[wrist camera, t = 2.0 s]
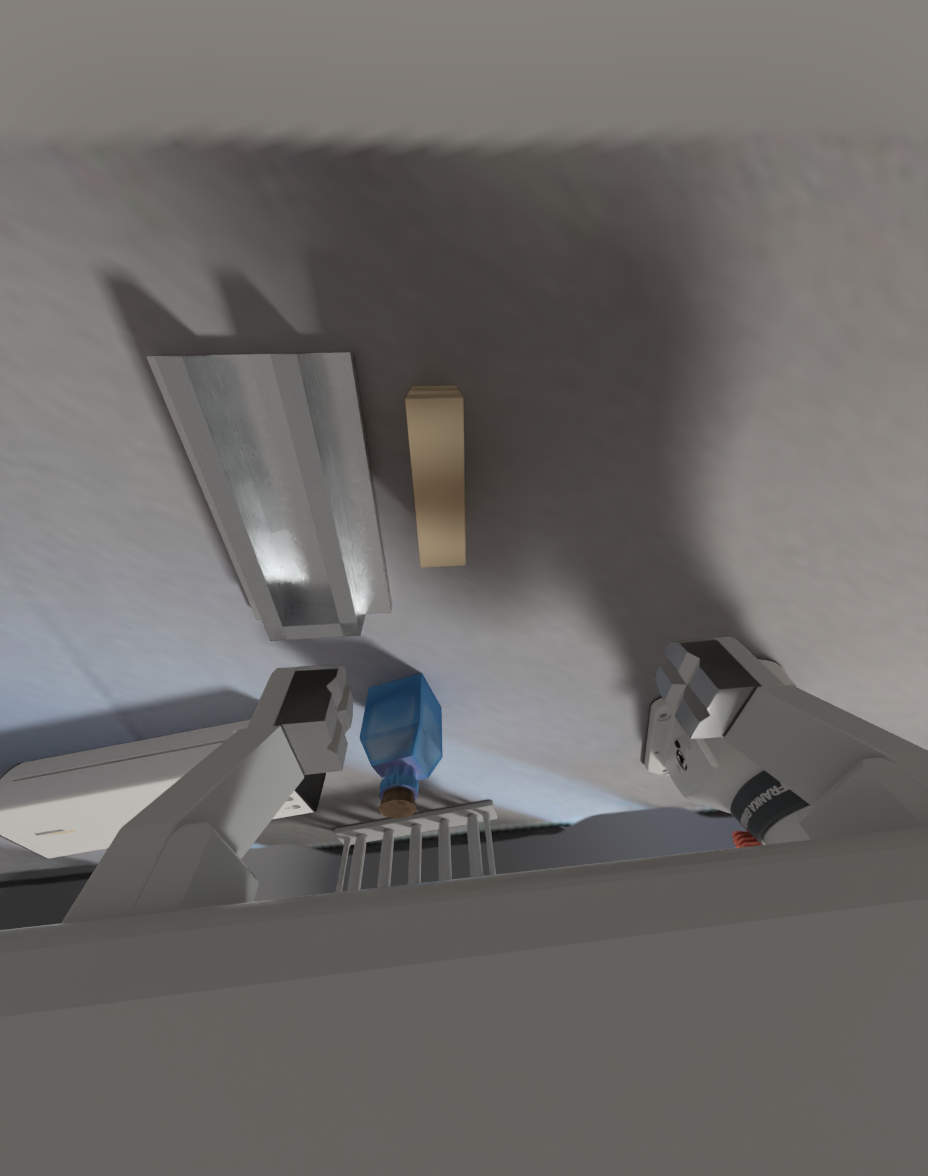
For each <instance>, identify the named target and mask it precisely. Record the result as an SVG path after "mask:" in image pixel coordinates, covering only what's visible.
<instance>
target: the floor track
mask: <svg viewBox="0 0 928 1176" xmlns="http://www.w3.org/2000/svg"><path fill="white" fill-rule="evenodd" d="M146 357H147V360H148V362H149V365H150V367H151V369H152V372H153V374H154V376H155V379H156V381H157V384H158V386H159V388H160V391H161V393H162V396H163V398H164V400H165V403H166V405H167V408H168V410H169V412H170V415H171V417H172V419H173V422H174V424H175V427H176V429H177V431H178V434H179V436H180V439H181V441H182V443H183V446H184V448H185V451H186V453H187V455H188V458H189V460H190V462H191V465H192V467H193V470H194V472H195V474H196V477H197V479H198V482H199V484H200V486H201V489H202V491H203V493H204V496H205V498H206V501H207V503H208V505H209V508H210V510H211V513H212V515H213V517H214V520H215V522H216V525H217V527H218V529H219V532H220V534H221V536H222V539H223V541H224V544H225V546H226V548H227V551H228V553H229V556H230V558H231V560H232V563H233V565H234V567H235V570H236V572H237V575H238V577H239V579H240V582H241V584H242V587H243V589H244V591H245V594H246V596H247V599H248V601H249V603H250V606H251V608H252V610H253V613H254V615H255V618H256V620H262V622H263V624H264V627H265V629H266V631H267V634H268V636H269V639H270V641H275V640H292V639H310V638H327V637H345V636H360V634H361V630H362V626H363V622H364V618H365V614H373V613H391V610H392V602H391V596H390V589H389V583H388V576H387V570H386V563H385V557H384V550H383V544H382V537H381V531H380V524H379V518H378V511H377V505H376V498H375V492H374V485H373V479H372V472H371V466H370V459H369V453H368V446H367V440H366V433H365V427H364V420H363V414H362V407H361V401H360V394H359V388H358V381H357V375H356V368H355V362H354V355H353V352H335V353H283V354H231V355H179V356H146Z"/></svg>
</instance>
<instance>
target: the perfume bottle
mask: <svg viewBox="0 0 928 1176" xmlns="http://www.w3.org/2000/svg"><path fill="white" fill-rule="evenodd" d="M360 740H361V743H362V745H363V747H364V750H365V752H366V754H367V757H368V759H369V761H370V764H371V766H372V767H373V768H374V770H375V771H376V772H377V773H378V774H379V775H380V777H381V778H382V779H383V780H382V781H381V785H380V793H379V797H380V799H381V800H382V801H381V804H380V808H379V811H380V813H381V814H382V815H383V816H386V817H388V818H405V817H408V816H411V815H412V814H414V813H415V811H416V804H415V800H416V799H417V797H418V790H419V783H418V780H422V779H426V778H428V777H429V776H430V775H431V773H432V772H433V770H434V769H435V767H436V766H437V764H438V763H439V761H440V760H441V758H442V715H441V706H440V704H439V703H438V701H437V699H436V697H435V695H434V694H433V692H432V690H431V688H430V687H429V685H428V683H427V681H426V679H425V678H424V676H423V674H422V673H420V674H417V675H413V676H410V677H406V678H403V679H399V680H395V681H392V682H388V683H385V684H381V685H378V686H374V687H371V688H369V691H368V696H367V701H366V707H365V712H364V717H363V723H362V728H361V733H360Z"/></svg>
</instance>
